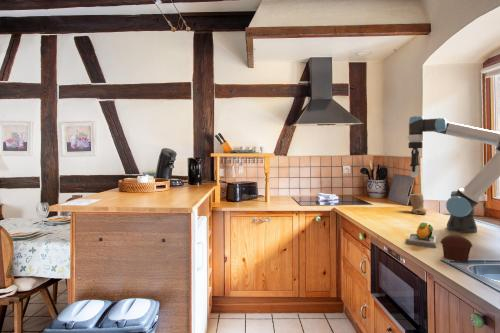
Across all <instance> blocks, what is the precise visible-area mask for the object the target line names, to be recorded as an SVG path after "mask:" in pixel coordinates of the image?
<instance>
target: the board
mask: <svg viewBox="0 0 500 333" xmlns="http://www.w3.org/2000/svg"><path fill="white" fill-rule="evenodd" d="M416 234H417V233H412V232H411V233H410V232H409V233H408V236H407V237H406V240H405V244H408V245H414V246H420V247H425V248H427V247H428V248H433V249H434V248H437V236H435V235H432V236H431V238H430V239H429V240H428V237H426V238H421V239H420V238H418V237H417V235H416Z"/></svg>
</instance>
